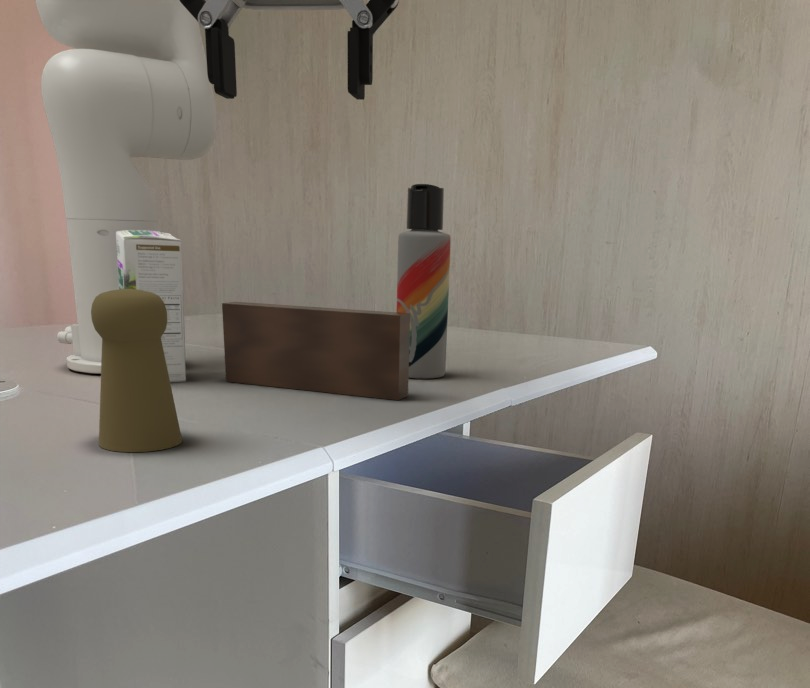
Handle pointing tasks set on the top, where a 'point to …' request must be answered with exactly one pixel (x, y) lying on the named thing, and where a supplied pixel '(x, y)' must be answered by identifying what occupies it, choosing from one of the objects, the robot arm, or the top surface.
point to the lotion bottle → (425, 280)
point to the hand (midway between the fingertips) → (290, 96)
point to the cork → (134, 373)
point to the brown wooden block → (317, 349)
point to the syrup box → (157, 285)
